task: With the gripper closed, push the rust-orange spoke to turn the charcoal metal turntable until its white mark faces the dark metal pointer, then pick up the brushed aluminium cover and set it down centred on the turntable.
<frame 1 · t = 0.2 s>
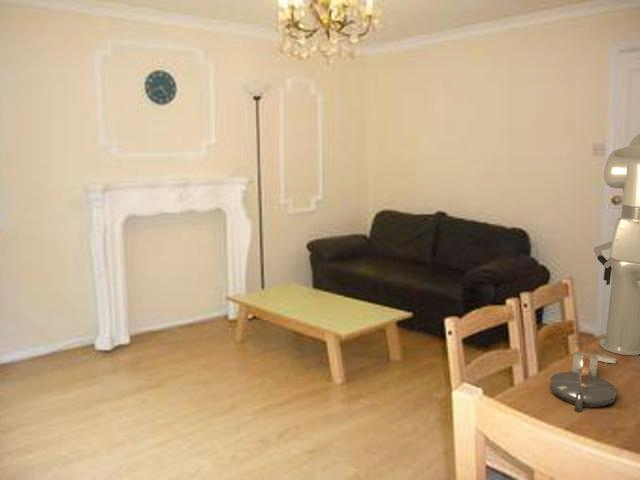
hand: (630, 286, 137), 30 cm above the table, fingers open, 9 cm apart
turntable base: (581, 396, 147), on the table
turntable: (583, 378, 146), point 5 cm above the table, hinge at 0.0°
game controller: (603, 366, 168), on the table
dial pointer: (578, 410, 140), on the table
cover: (583, 377, 159), on the table
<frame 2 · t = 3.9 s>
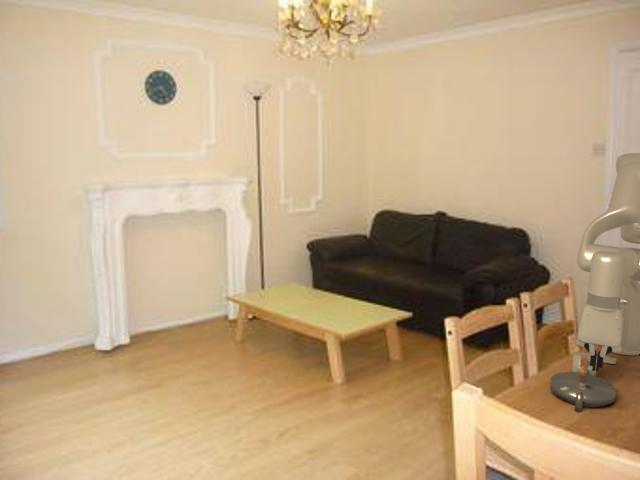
hand: (595, 369, 150), 6 cm above the table, fingers closed
turntable: (583, 378, 146), point 5 cm above the table, hinge at 5.0°, touching gripper
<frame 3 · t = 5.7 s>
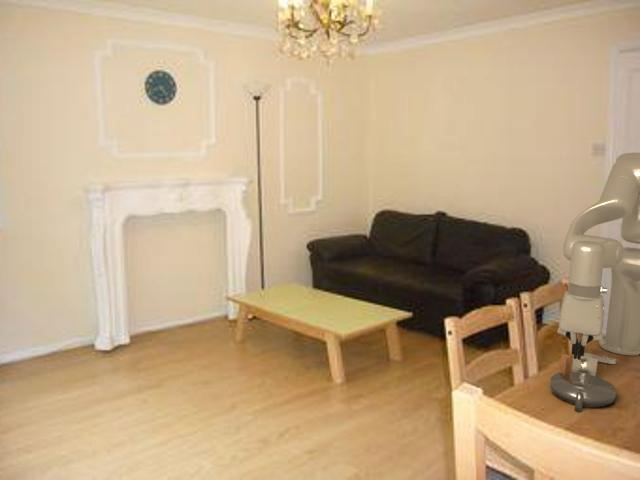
hand: (577, 357, 152), 8 cm above the table, fingers closed
turntable: (583, 378, 146), point 5 cm above the table, hinge at 46.5°
everything else where it was.
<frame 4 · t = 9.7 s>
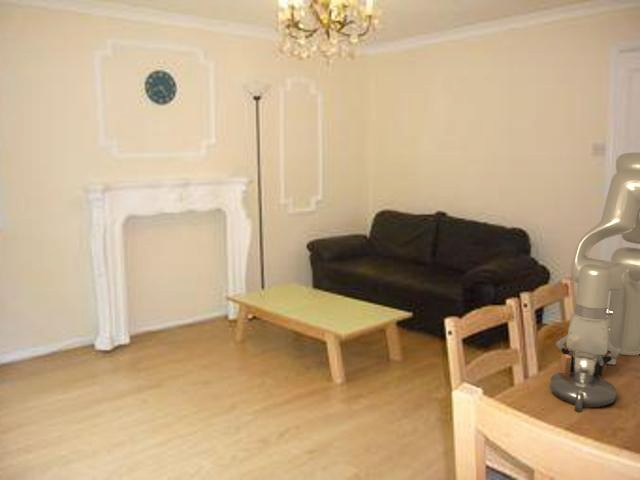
hand: (583, 374, 159), 1 cm above the table, fingers closed on cover, 6 cm apart
cover: (583, 377, 159), on the table, touching gripper
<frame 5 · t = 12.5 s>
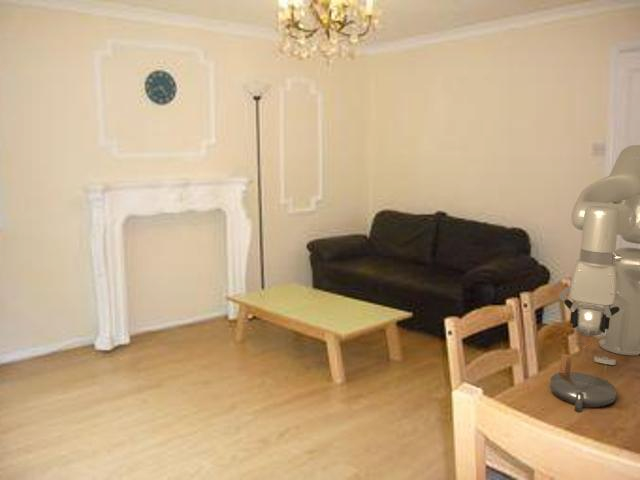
hand: (588, 328, 144), 18 cm above the table, fingers closed on cover, 6 cm apart
cover: (588, 331, 144), point 17 cm above the table, touching gripper
when the fingers open (5 cm above the table, at t = 15.3 s): cover drops 1 cm, resting on turntable.
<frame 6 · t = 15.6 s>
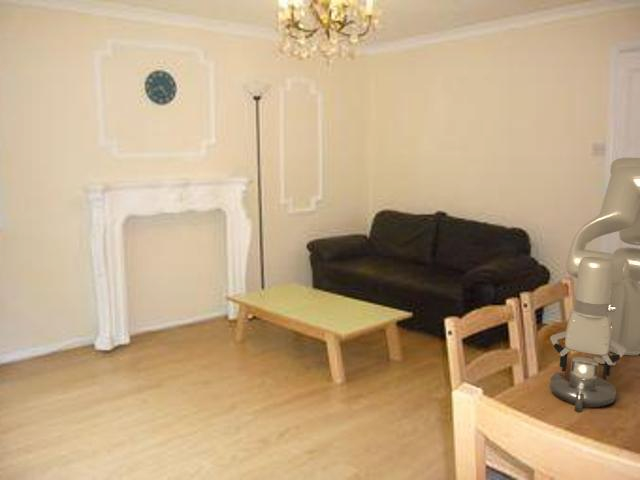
hand: (583, 373, 146), 6 cm above the table, fingers open, 9 cm apart
turntable: (583, 378, 146), point 5 cm above the table, hinge at 46.5°, touching cover
cover: (582, 384, 147), point 3 cm above the table, touching turntable
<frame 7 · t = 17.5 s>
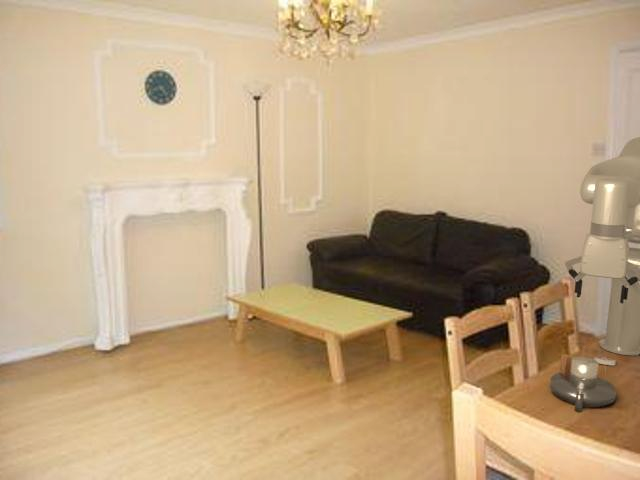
hand: (599, 298, 144), 25 cm above the table, fingers open, 9 cm apart
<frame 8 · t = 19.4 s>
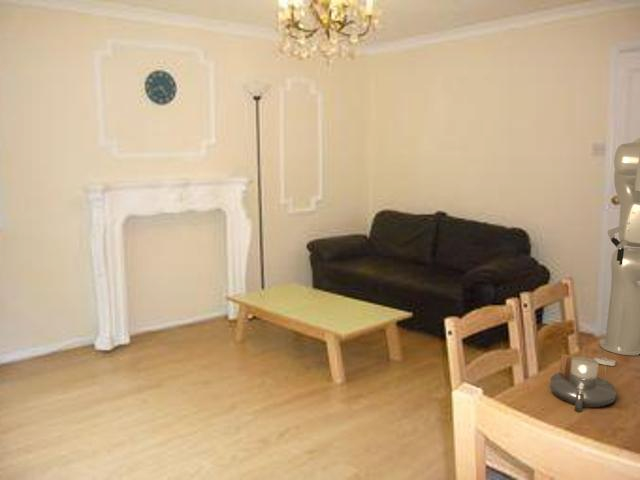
at the end: turntable at +46° (first picture: +0°); cover 0.1 cm from the turntable (horizontally); cover tilted 0° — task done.
